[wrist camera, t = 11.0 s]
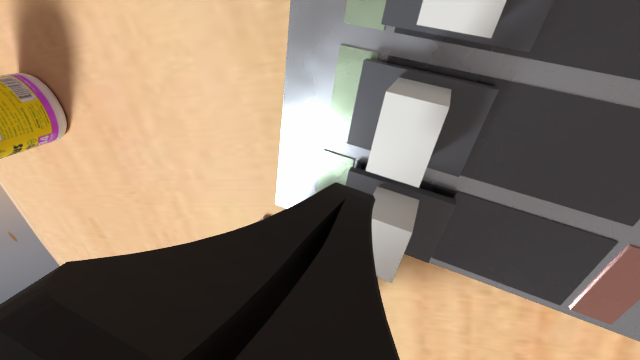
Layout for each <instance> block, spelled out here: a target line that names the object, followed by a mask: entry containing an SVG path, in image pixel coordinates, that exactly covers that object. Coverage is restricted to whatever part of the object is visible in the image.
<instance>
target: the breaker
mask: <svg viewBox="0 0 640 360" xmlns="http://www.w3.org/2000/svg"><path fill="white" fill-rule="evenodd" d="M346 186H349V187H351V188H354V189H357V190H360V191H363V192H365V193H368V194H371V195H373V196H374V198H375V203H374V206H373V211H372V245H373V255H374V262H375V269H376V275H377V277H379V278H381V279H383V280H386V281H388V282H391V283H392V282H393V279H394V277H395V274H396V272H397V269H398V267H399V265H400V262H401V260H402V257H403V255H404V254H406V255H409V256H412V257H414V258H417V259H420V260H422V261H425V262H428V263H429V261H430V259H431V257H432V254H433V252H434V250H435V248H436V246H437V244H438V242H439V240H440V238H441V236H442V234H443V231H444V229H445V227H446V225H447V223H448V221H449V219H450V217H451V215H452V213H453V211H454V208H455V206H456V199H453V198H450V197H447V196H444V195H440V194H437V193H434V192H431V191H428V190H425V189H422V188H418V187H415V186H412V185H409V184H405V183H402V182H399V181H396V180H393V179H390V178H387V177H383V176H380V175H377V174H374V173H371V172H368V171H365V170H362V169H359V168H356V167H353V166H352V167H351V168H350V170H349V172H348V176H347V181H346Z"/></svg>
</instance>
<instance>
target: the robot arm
mask: <svg viewBox="0 0 640 360" xmlns="http://www.w3.org/2000/svg"><path fill="white" fill-rule="evenodd" d="M374 203H375V198H374V196H373V195H371V194H368V193H365V192H363V191H360V190H357V189H354V188H351V187H349V186H346V185H343V184H340V183H337V182H335V183H333V184H331V185H329V186H327V187H326V188H324V189H322V190H321V191H319V192H317V193H315V194H314V195H312V196H310V197H308V198H307V199H305V200H303V201H301V202H299V203H297V204H295V205H293V206H291V207H289V208H287V209H285V210H283V211H281V212H279V213H276V214H274V215H272V216H270V217H268V218H266V219H260V220H259V221H258V222H256V223H253V224H251V225H248V226H245V227H242V228H239V229H236V230H234V231H230V232H227V233H224V234H220V235H216V236H213V237H209V238H205V239H201V240H198V241H194V242H190V243H186V244H181V245H177V246H172V247H167V248H162V249H157V250H151V251H146V252H140V253H134V254H127V255H120V256H112V257H104V258H96V259H89V260H81V261H71V262H66V263H65V264H63V265H61V266H60V267H58V268H57V269H55V270H53V271H52V272H50V273H49V274H47V275H46V276H44V277H42V278H41V279H39V280H38V281H36V282H35V283H33V284H31V285H30V286H28V287H27V288H25V289H24V290H22V291H21V292H19V293H17V294H16V295H14V296H13V297H11V298H10V299H8V300H7V301H5V302H3V303H2V304H0V360H400V359H399V356H398V353H397V350H396V347H395V344H394V341H393V338H392V334H391V331H390V328H389V325H388V322H387V319H386V315H385V311H384V307H383V303H382V299H381V295H380V290H379V286H378V281H377V275H376V269H375V262H374V255H373V245H372V211H373V206H374Z"/></svg>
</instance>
